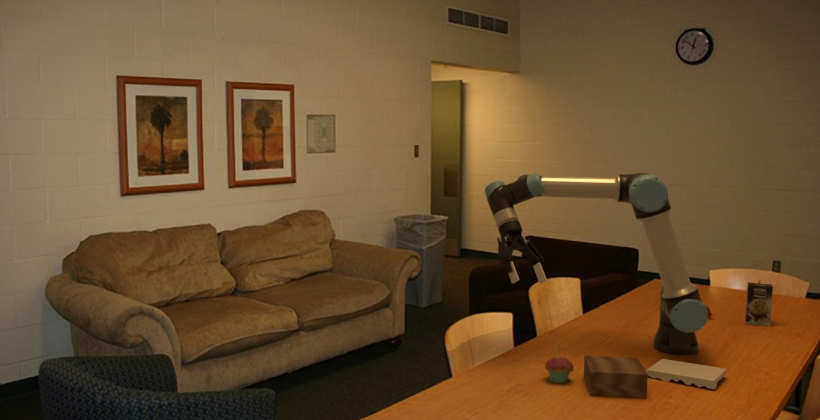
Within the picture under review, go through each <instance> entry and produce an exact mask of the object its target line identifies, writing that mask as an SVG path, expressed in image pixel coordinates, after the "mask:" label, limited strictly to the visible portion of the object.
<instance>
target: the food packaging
mask: <svg viewBox="0 0 820 420" xmlns="http://www.w3.org/2000/svg"><path fill="white" fill-rule="evenodd" d="M646 372H647V374H648V377H650V378H652V379H660V380H661V382H667V383H668V382H670V381H671V380H673V381H675V382H676V383H677V382H679V381H682V382H683V383H684V384H685V385H687V386H690V385H692V384H693V385H695V386H696V387H697V388H702V387H706V388H707V389H710V390H715V389H716V388H717V387H718V383H719V381H720V380H722V379H723V377H725V376H726V375H727V372H728V371H727V368H723V367H718V366H711V365H705V364H697V363H691V362H686V361H679V360H673V359H672V360H671V359H665V358H661V359H660V360H658V361H657V362H656V363H654V364H653V365H652V366H650V367H649V368H648V369H646Z"/></svg>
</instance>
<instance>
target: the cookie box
mask: <svg viewBox="0 0 820 420" xmlns="http://www.w3.org/2000/svg"><path fill="white" fill-rule="evenodd" d="M773 291H774V288H773V284H769V283H759V282H747V291H746V302H745V315H744V324H745V325H749V326H751V325H752V326H761V327H771V317H772V316H771V315H772V304H773V303H772V302H773Z"/></svg>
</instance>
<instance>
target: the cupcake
mask: <svg viewBox="0 0 820 420" xmlns="http://www.w3.org/2000/svg"><path fill="white" fill-rule="evenodd" d="M553 344H554V345H553V346H554V347H553V348H554V349H553V350H554V357H551V358H549V359H548V360H546V362H545V364H544V365H545V367H544V368H545V369H546V371H547V372H548V374H549V377H550V378H549V379H550V380H551V382H553V383H556V384H564V383H566V382H567V381H568V378H569V375H570V373H572V372H573V371H574V370H575V369H574V363H572V361H570V359H568V358H566V357H561V356H558V350H557V345H556V343H553Z"/></svg>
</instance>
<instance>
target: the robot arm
mask: <svg viewBox="0 0 820 420" xmlns="http://www.w3.org/2000/svg"><path fill="white" fill-rule="evenodd" d="M484 194H485V197H486V201H487V204H488V206H489V208H490V210H491V214H492V216H493V218H494V222H495V225H496V227H497V228H498V232H499V236H497V238H496V240H497V243H498V247H497V248H498V250H497V252H498V253H497V254H498V255H497V261H498V263H500V265H501V266H502V267H503V266H505V270H506V272H507V273H508V276H509V279H510V282H511V284H515V283H517V282H518V281H520V277H519V275H518V272H517V270H516V267H515V264H514V261H511V259H512V257H513V252H514V251H519V253H522V254H523V255H524V256H525V257H526V258H527V259H528V260H529V261H530V262H531V263H532V264H533V270H534V272H535V274H536V277H537V280H538V282H539V285H541V284H544V283H545V282H547V277H546V274H545V271H544V268H543V265H542V263H543V262H545V258H544V257H543V256H542V255H541V253H540V251H538V249H537V247H536V246H535V245H534V244H533V242H532V240H531V238H530V236H525V237H524V236H522V235H523V234H522V232H523V228H522V225H521V222H520V221H519V216H518V215H517V212H516V210H515V207H514V206H515V205H518V204H521V203H523V202H526V201H528V200H531V199H534V198H537V197H547V198H575V199H577V198H578V199H603V200H605V199H606V200H607V199H608V200H614V201H615V203H626V204H631V207H632V210H633V212H634V216H635V219H636V221H639V222H641V223H642V224H643V229H644V232H645V235H646V237H647V241H648V244H649V247H650V250H651V253H652V256H653V258H654V262H655V264H656V268H657V271H658V274H659V277H660V280H661V284H662V286H661V287H660V291H659V293H660V300H659V302H660V303H659V323H658V325H659V326H658V328H657V331H656V333H655V335H654V338H653V341H652V346H653V348H654V349H655V350H657V351H659V352H662V353H667V354H672V355H692V354H697V353H698V352H699V342H698V341H699V340H698V338H697V335H696V332H697V331H700V330H701V329H702V328H703V327H704V326H705V325H706V324H707V321H708V312H707V308H706V307H707V306H706V305H705V304H704V303H703V301H702V298H701V295H700V292H699V289H698V286H697V284H693V283H692V282H691V279H690V277H689V274H688V270H687V268H686V264H685V262H684V259H683V255H682V252H681V249H680V246H679V243H678V240H677V238H676V234H675V231H674V228H673V224H672V222H671V219H670V212H672V211H671V210H672V207H671V206H672V205H671V204H670V201H669V200H670V199H669V190H668V187H667V185H666V183H665V181H663V179H661V178H660V177H658V175H656V174H655V175H654V174H652V173H651V174H650V173H647V172H637V173H626V174H620V173H619V174H616V175H615V176H581V175H580V176H578V175H577V176H575V175H573V176H572V175H571V176H570V175H540V174H539V173H537V172H534V173H532V174H523V175H520V176H519V177H518V178H517V180H514V181H512V182H510V183H508V184H506V183H505V182H504V181H502V180H497V181H493V182H490V183H488V184H487V185H486V186H485V188H484Z"/></svg>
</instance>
